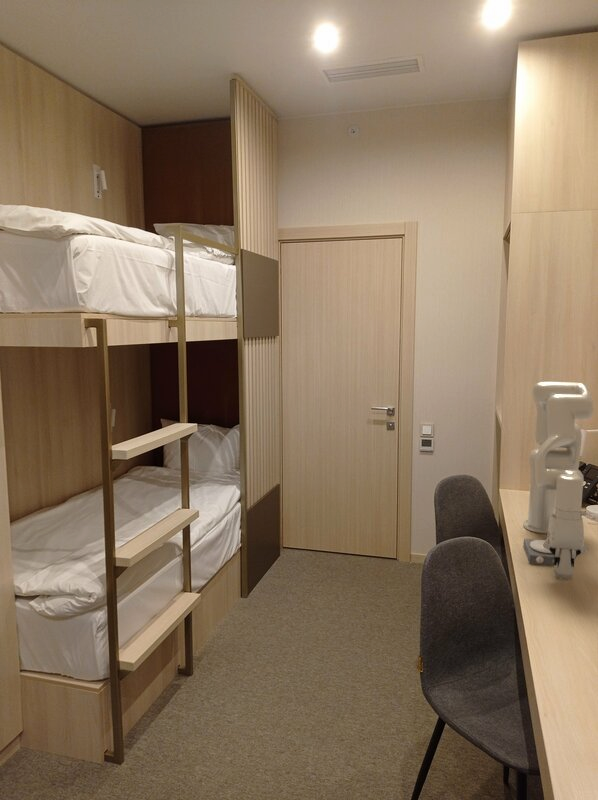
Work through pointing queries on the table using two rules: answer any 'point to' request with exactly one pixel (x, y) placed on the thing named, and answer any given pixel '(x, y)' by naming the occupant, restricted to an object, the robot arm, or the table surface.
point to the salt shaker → (564, 565)
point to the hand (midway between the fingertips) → (563, 567)
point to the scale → (538, 552)
